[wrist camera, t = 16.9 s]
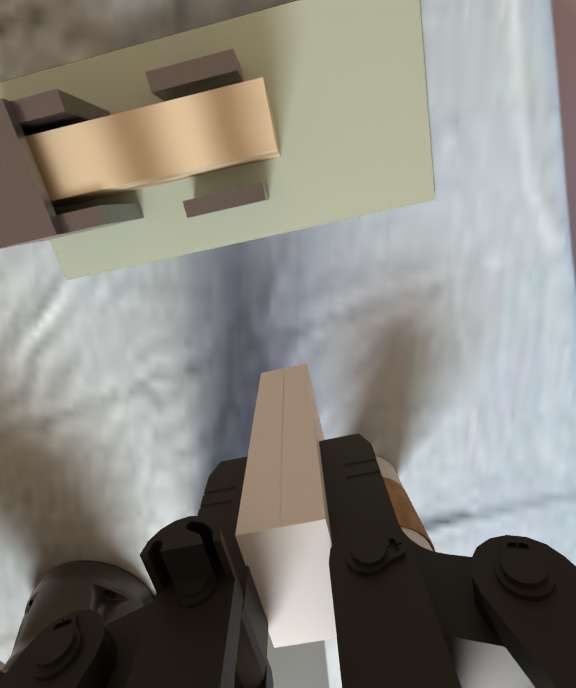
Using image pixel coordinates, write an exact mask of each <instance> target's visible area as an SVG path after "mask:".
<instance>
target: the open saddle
mask: <svg viewBox="0 0 576 688" xmlns="http://www.w3.org/2000/svg"><path fill="white" fill-rule="evenodd" d="M145 73H146V76H147V80H148V83H149V87H150V90H151V93H153V94H154V95H155V96H157V97H158V98H160V99H161V100H163V101H164V102H165V101H169V100H173V99H177V98H181V97H185V96H189V95H193V94H197V93H201V92H205V91H209V90H213V89H217V88H221V87H225V86H229V85H233V84H237V83H241V82H244V79H243V75H242V70H241V66H240V63H239V61H238V59H237V56H236V54H235V52H234V50H233V49H230V50H226V51H222V52H218V53H215V54H211V55H207V56H203V57H200V58H196V59H192V60H189V61H185V62H181V63H177V64H174V65H170V66H166V67H162V68H159V69H155V70H151V71H147V72H145ZM265 200H269V196H268V191H267V186H266V184H265V183H259V184H254V185H250V186H246V187H241V188H237V189H233V190H228V191H224V192H220V193H215V194H211V195H207V196H203V197H198V198H194V199H190V200H185V201H183V205H184V208H185V212H186V215H187V218H189V217H194V216H199V215H203V214H207V213H212V212H216V211H221V210H225V209H229V208H234V207H238V206H243V205H247V204H251V203H256V202H260V201H265Z"/></svg>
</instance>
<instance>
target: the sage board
mask: <svg viewBox="0 0 576 688" xmlns="http://www.w3.org/2000/svg"><path fill="white" fill-rule="evenodd" d="M230 49H233V50H234V52H235V54H236V56H237V59H238V61H239V63H240V66H241V70H242V75H243V79H244V82H245V81H249V80H253V79H257V78H261V77H263V79H264V82H265V86H266V89H267V92H268V96H269V99H270V104H271V109H272V114H273V119H274V125H275V130H276V135H277V140H278V145H279V151H280V156H281V157H279V158H274V159H270V160H266V161H261V162H257V163H253V164H248V165H244V166H239V167H235V168H231V169H226V170H222V171H218V172H213V173H209V174H205V175H200V176H196V177H191V178H187V179H183V180H178V181H174V182H170V183H165V184H161V185H157V186H152V187H148V188H143V189H139V190H135V191H130V192H126V193H122V194H117V195H113V196H109V197H104V198H100V199H95V200H91V201H87V202H82V203H78V204H74V205H69V206H58V207H55V210H56V212H57V215H60V214H64V213H69V212H73V211H77V210H81V209H85V208H90V207H94V206H98V205H114V204H131V203H139V204H140V207H141V211H142V214H143V217H144V218H142V219H138V220H133V221H129V222H125V223H120V224H116V225H111V226H107V227H103V228H98V229H94V230H90V231H85V232H81V233H77V234H72V235H68V236H64V237H59V238H55V239H50V242H51V244H52V247H53V249H54V252H55V254H56V257H57V259H58V261H59V264H60V266H61V269H62V271H63V274H64V276H65V278H66V280H70V279H75V278H79V277H84V276H88V275H93V274H98V273H102V272H107V271H111V270H116V269H121V268H125V267H130V266H134V265H139V264H143V263H148V262H153V261H157V260H162V259H166V258H171V257H176V256H180V255H185V254H189V253H194V252H198V251H203V250H208V249H212V248H217V247H221V246H226V245H231V244H235V243H240V242H244V241H249V240H254V239H258V238H263V237H267V236H272V235H276V234H281V233H286V232H290V231H295V230H299V229H304V228H309V227H313V226H318V225H322V224H327V223H331V222H336V221H341V220H345V219H350V218H354V217H359V216H364V215H368V214H373V213H377V212H382V211H387V210H391V209H396V208H400V207H405V206H409V205H414V204H419V203H423V202H428V201H432V200H435V195H434V182H433V169H432V156H431V143H430V130H429V118H428V105H427V92H426V79H425V66H424V53H423V41H422V28H421V15H420V2H419V0H298V1H294V2H291V3H287V4H283V5H280V6H276V7H272V8H269V9H265V10H262V11H258V12H254V13H251V14H247V15H243V16H240V17H236V18H232V19H229V20H225V21H222V22H218V23H214V24H211V25H207V26H203V27H200V28H196V29H192V30H189V31H185V32H182V33H178V34H174V35H171V36H167V37H163V38H160V39H156V40H152V41H149V42H145V43H141V44H138V45H134V46H131V47H127V48H123V49H120V50H116V51H112V52H109V53H105V54H101V55H98V56H94V57H91V58H87V59H83V60H80V61H76V62H72V63H69V64H65V65H61V66H58V67H54V68H51V69H47V70H43V71H40V72H36V73H32V74H29V75H25V76H21V77H18V78H14V79H11V80H7V81H3V82H0V98H3V99H6V100H9V101H13V100H17V99H21V98H24V97H28V96H32V95H36V94H39V93H43V92H47V91H50V90H54V89H59V90H61V91H63V92H66V93H68V94H70V95H73V96H75V97H77V98H79V99H82V100H84V101H86V102H89V103H91V104H93V105H96V106H98V107H100V108H102V109H105V110H107V111H109V112H110V115H113V114H117V113H121V112H125V111H129V110H133V109H137V108H141V107H145V106H149V105H153V104H157V103H161V102H164V101H163V100H161V99H160V98H158V97H157V96H155V95H154V94H153V93H151V90H150V87H149V83H148V80H147V76H146V73H145V72H147V71H151V70H155V69H159V68H162V67H166V66H170V65H174V64H177V63H181V62H185V61H189V60H192V59H196V58H200V57H203V56H207V55H211V54H215V53H218V52H222V51H226V50H230ZM259 183H265V184H266V186H267V191H268V196H269V200H265V201H260V202H256V203H251V204H247V205H243V206H238V207H234V208H229V209H225V210H221V211H216V212H212V213H207V214H203V215H199V216H194V217H189V218H187V215H186V212H185V208H184V205H183V201H185V200H190V199H194V198H198V197H203V196H207V195H211V194H215V193H220V192H224V191H228V190H233V189H237V188H241V187H246V186H250V185H254V184H259Z"/></svg>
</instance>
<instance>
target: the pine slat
mask: <svg viewBox="0 0 576 688" xmlns="http://www.w3.org/2000/svg"><path fill="white" fill-rule="evenodd" d="M25 137H26V140H27V142H28V145H29V148H30V150H31V153H32V155H33V158H34V160H35V163H36V165H37V168H38V170H39V173H40V175H41V178H42V180H43V183H44V185H45V188H46V190H47V193H48V195H49V198H50V200H51V203H52V205H53V207H58V206H69V205H74V204H78V203H82V202H87V201H91V200H95V199H100V198H104V197H109V196H113V195H117V194H122V193H126V192H130V191H135V190H139V189H143V188H148V187H152V186H157V185H161V184H165V183H170V182H174V181H178V180H183V179H187V178H191V177H196V176H200V175H205V174H209V173H213V172H218V171H222V170H226V169H231V168H235V167H239V166H244V165H248V164H253V163H257V162H261V161H266V160H270V159H274V158H279V157H281V156H280V151H279V145H278V140H277V135H276V130H275V125H274V119H273V114H272V109H271V104H270V99H269V96H268V92H267V89H266V86H265V82H264V79H263V77H261V78H257V79H253V80H249V81H245V82H241V83H237V84H233V85H229V86H225V87H221V88H217V89H213V90H209V91H205V92H201V93H197V94H193V95H189V96H185V97H181V98H177V99H173V100H169V101H165V102H161V103H157V104H153V105H149V106H145V107H141V108H137V109H133V110H129V111H125V112H121V113H117V114H113V115H109V116H105V117H101V118H97V119H93V120H89V121H85V122H81V123H77V124H73V125H69V126H65V127H61V128H57V129H53V130H49V131H45V132H41V133H37V134H33V135H29V136H25Z"/></svg>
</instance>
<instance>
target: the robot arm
mask: <svg viewBox="0 0 576 688" xmlns="http://www.w3.org/2000/svg"><path fill="white" fill-rule="evenodd" d="M204 493H205V495H204V496H203V499H202V502H201V509H199V512H198V516H189V517H186V518H183V519H180V520H177V521H174V522H173V523H171V524H169V525H168V526H166V527H164V528H163V529H161V530H160V531H159V532H158V533H157V534H155V535H154V536H153V537H152V538H151V539H150V540H149V541H148V542H147V544H146V546H145V547H144V549H143V551H142V552H141V554H140V557H141V559H142V561H143V563H144V566H145V568H146V570H147V572H148V574H149V576H150V579H151V581H152V583H153V585H154V587H155V589H156V592H157V594H156V597H155V600H154V598H153V596H152V594H151V593H150V591H149V590H148V589H147V588H146V586H145V585H144V584H143V583H142V582H140V581H139V580H138V579H137V578H135V577H134V576H132V575H131V574H129V573H127V572H125V571H123V570H121V569H119V568H116V567H114V566H111V565H107V564H103V563H97V562H72V563H67V564H64V565H61V566H58V567H56V568H54V569H52V570H51V571H49V572H48V573H47V574H46V575H45V576H44V577H43V578H42V579H41V581H40V582H39V584H38V585H37V587H36V588H35V590H34V591H33V593H32V594H31V596H30V598H29V600H28V602H27V606H26V609H25V615H24V617H23V620H22V623H21V625H20V628H19V632H18V635H17V638H16V641H15V645H14V648H13V651H12V654H11V656H10V658H9V660H8V661H7V663H6V665H5V666H4V668H3V670H2V671H1V670H0V688H273V678H272V671H271V667H270V665H269V662H268V659H267V642H268V641H267V640H268V631H269V634H270V637H271V640H272V643H273V646H274V648H276V647H282V646H288V645H295V644H301V643H308V642H314V641H321V640H327V639H333V638H337V644H338V653H339V662H340V671H341V680H342V688H576V566H575V565H574V564H572V563H571V562H570V561H569V560H568V559H567V558H566V557H564V556H563V555H561V554H560V553H558V552H557V551H555V550H554V549H552V548H551V547H549V546H548V545H546V544H544V543H541V542H538V541H536V540H533V539H530V538H527V537H521V536H510V535H505V536H500V537H495V538H490V539H488V540H487V541H485V542H484V543H482V544H481V545H479V546H478V547H477V548H476V550H475V552H474V554H473V556H472V557H466V556H457V555H449V554H443V553H438V552H434V551H431V550H428V549H426V548H424V547H421V546H420V545H418V544H417V543H415V542H414V541H412V540H411V539H410V538H409V537H408V536H407V535H406V534H405V533H404V532H403V530H402V528H401V526H400V525H399V523H398V520H397V517H396V514H395V511H394V508H393V505H392V503H391V500H390V497H389V494H388V491H387V488H386V485H385V482H384V479H383V477H382V474H381V471H380V468H379V465H378V462H377V460H376V456H375V453H374V451H373V448H372V445H371V443H369V442H368V441H367V440H366V439H365V438H363V437H362V436H361V435H360V434H353V435H348V436H343V437H338V438H333V439H328V440H324V435H323V431H322V427H321V422H320V418H319V414H318V409H317V405H316V401H315V396H314V392H313V387H312V383H311V379H310V374H309V370H308V366H307V364H302V365H298V366H293V367H288V368H283V369H279V370H274V371H269V372H264V373H261V377H260V383H259V389H258V396H257V402H256V408H255V414H254V421H253V427H252V433H251V440H250V446H249V452H248V457H243V458H238V459H233V460H227V461H222V462H220V463H219V465H218V466H217V467H216V468H215V470H214V471H213V472H212V473H211V475H210V476H209V478H208V481H207V485H206V488H205V492H204Z"/></svg>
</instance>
